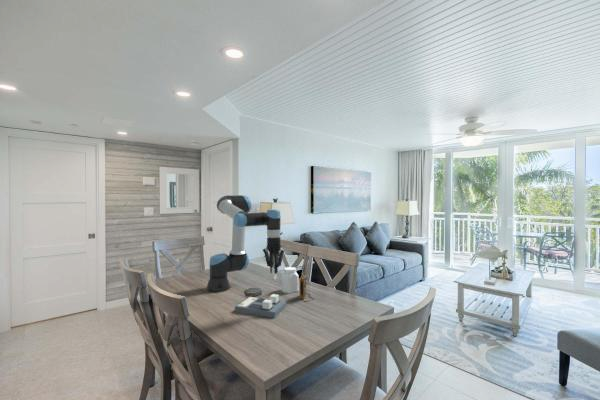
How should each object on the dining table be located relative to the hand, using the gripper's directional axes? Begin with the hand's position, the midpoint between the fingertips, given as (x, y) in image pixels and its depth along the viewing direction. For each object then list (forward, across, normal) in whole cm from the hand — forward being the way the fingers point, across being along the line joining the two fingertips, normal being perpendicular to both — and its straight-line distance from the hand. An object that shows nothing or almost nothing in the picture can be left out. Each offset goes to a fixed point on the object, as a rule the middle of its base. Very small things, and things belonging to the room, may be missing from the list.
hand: (274, 278), depth 156 cm
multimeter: (+18, +13, +24) cm, 33 cm away
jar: (+17, -3, +33) cm, 38 cm away
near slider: (+14, -1, -6) cm, 15 cm away
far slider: (+14, -1, +3) cm, 14 cm away
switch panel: (+17, -7, -2) cm, 19 cm away
